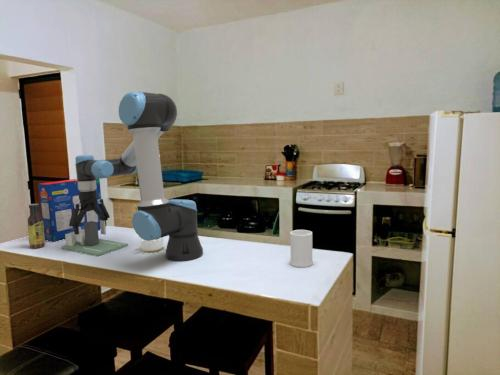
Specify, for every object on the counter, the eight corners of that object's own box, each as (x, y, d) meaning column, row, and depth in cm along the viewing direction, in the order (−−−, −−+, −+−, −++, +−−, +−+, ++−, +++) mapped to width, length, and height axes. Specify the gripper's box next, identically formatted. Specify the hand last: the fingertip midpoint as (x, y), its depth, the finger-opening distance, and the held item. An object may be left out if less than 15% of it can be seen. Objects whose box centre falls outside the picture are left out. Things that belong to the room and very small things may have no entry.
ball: (82, 232, 175) (82, 240, 176) (75, 234, 171) (75, 242, 172) (88, 234, 173) (88, 242, 174) (80, 236, 169) (80, 245, 170)
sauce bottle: (39, 249, 168) (34, 205, 165) (26, 248, 169) (21, 205, 166) (48, 244, 175) (44, 203, 172) (36, 244, 176) (32, 203, 173)
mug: (300, 256, 149) (299, 226, 147) (320, 259, 144) (320, 229, 142) (286, 265, 139) (285, 233, 137) (307, 269, 134) (306, 236, 132)
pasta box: (94, 227, 206) (90, 177, 202) (103, 228, 202) (99, 177, 198) (44, 240, 183) (38, 183, 179) (53, 242, 179) (47, 184, 175)
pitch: (128, 245, 169) (127, 233, 168) (98, 256, 155) (96, 242, 154) (92, 239, 182) (91, 227, 181) (61, 248, 168) (59, 235, 167)
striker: (100, 243, 170) (98, 221, 169) (89, 246, 166) (87, 224, 164) (90, 241, 174) (88, 220, 173) (79, 244, 169) (77, 222, 168)
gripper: (104, 186, 178) (108, 230, 181) (56, 193, 157) (61, 243, 160) (115, 186, 174) (119, 232, 177) (67, 194, 153) (72, 245, 156)
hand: (91, 237), depth 169 cm, fingers open, 12 cm apart
